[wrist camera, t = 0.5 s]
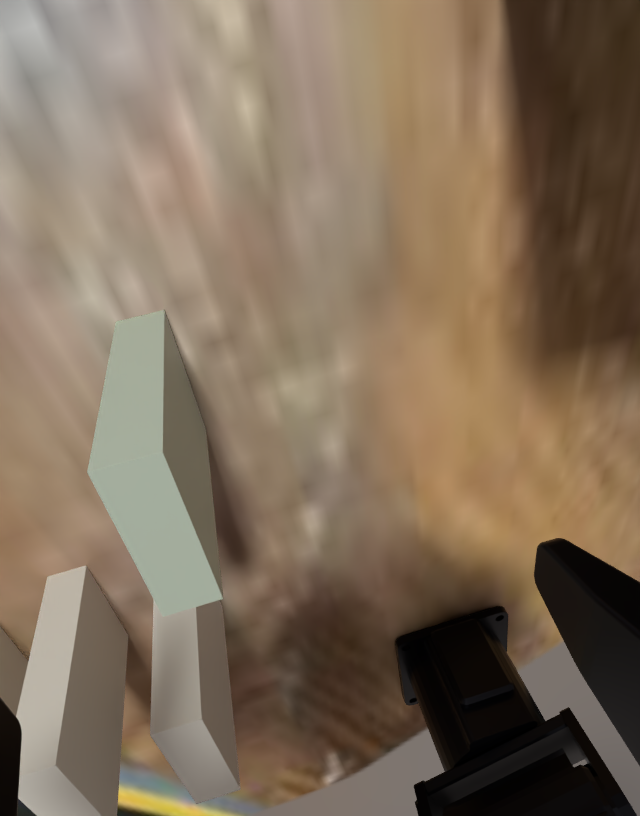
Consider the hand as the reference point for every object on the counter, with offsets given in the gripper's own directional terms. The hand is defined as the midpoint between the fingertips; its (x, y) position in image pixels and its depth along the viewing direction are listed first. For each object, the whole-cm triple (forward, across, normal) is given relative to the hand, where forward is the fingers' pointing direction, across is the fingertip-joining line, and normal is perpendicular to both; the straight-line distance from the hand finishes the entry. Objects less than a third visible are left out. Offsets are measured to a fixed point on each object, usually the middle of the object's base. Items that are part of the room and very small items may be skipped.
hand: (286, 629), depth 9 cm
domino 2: (+12, +9, +12) cm, 19 cm away
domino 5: (+12, +2, +1) cm, 13 cm away
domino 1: (+12, +4, +11) cm, 17 cm away
